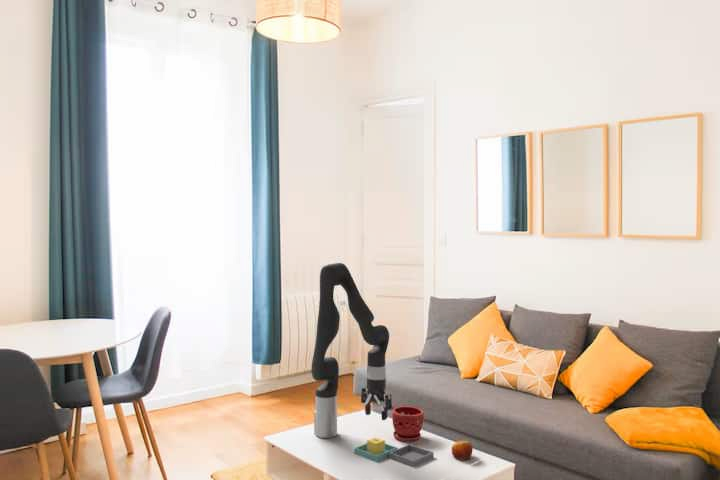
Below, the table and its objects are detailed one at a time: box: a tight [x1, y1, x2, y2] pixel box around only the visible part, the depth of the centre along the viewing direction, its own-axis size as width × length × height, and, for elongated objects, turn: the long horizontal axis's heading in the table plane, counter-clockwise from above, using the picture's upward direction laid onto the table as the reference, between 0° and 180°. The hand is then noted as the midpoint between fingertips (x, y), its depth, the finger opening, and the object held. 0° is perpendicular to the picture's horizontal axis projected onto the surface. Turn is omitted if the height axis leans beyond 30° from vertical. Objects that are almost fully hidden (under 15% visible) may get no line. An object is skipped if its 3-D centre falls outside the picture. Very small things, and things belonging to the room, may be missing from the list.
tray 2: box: [388, 444, 435, 468], centre depth 233 cm, size 12×12×2 cm
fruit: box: [451, 440, 474, 461], centre depth 233 cm, size 8×8×8 cm
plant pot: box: [391, 406, 424, 442], centre depth 255 cm, size 13×13×12 cm
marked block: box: [366, 436, 386, 455], centre depth 238 cm, size 5×5×5 cm
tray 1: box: [353, 442, 399, 462], centre depth 238 cm, size 12×12×2 cm
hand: (376, 417), depth 238 cm, fingers open, 8 cm apart
